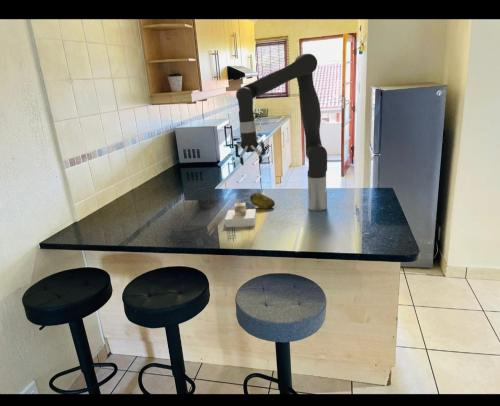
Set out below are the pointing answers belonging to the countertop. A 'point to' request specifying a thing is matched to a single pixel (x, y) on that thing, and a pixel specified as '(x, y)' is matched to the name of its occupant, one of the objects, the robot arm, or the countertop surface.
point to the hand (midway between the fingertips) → (251, 164)
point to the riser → (240, 219)
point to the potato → (262, 201)
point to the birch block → (240, 209)
